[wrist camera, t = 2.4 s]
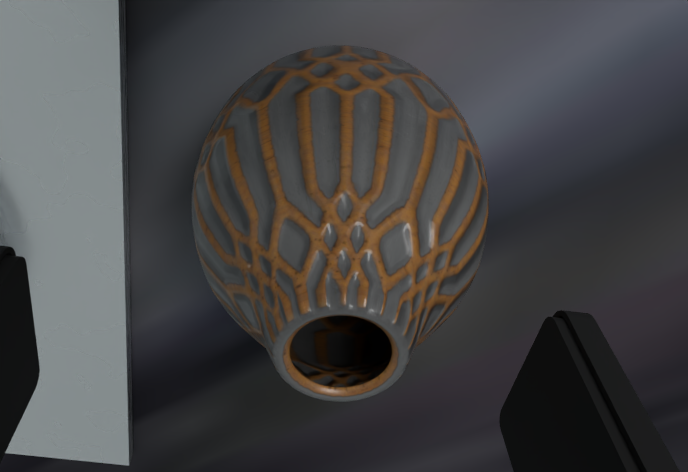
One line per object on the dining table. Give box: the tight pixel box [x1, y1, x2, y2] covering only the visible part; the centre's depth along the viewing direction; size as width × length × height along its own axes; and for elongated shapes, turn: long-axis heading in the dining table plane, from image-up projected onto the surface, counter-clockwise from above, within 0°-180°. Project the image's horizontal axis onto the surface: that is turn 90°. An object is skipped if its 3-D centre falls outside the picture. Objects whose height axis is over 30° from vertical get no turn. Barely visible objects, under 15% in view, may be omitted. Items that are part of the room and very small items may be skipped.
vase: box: [191, 46, 489, 402], centre depth 14 cm, size 7×7×9 cm
